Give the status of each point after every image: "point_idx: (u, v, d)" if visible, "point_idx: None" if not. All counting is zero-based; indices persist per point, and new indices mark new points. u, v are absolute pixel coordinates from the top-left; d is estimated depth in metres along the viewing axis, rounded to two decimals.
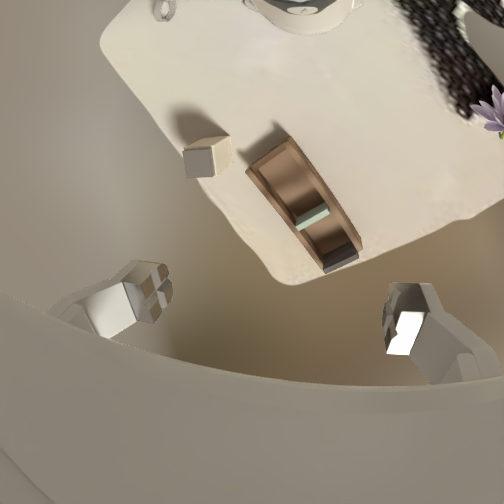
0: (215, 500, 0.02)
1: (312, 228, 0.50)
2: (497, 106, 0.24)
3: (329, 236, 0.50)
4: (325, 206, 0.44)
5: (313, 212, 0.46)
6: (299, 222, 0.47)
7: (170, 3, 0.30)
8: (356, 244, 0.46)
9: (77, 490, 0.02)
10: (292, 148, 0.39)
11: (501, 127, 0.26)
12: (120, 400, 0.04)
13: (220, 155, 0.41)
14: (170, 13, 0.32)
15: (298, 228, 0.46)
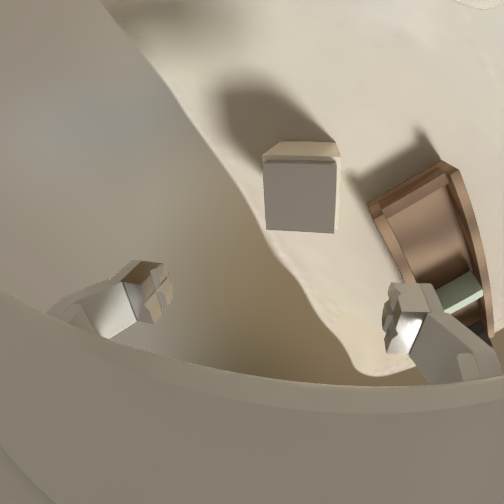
0: (215, 500, 0.02)
1: None
2: None
3: None
4: (475, 282, 0.21)
5: (457, 291, 0.22)
6: None
7: None
8: (490, 330, 0.22)
9: (77, 490, 0.02)
10: (462, 185, 0.17)
11: None
12: (120, 400, 0.04)
13: None
14: None
15: None
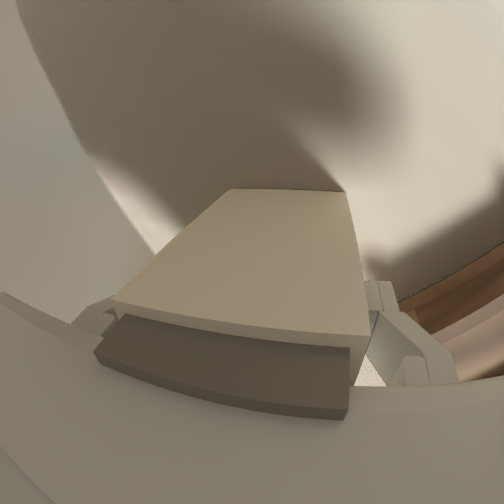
0: (215, 499, 0.02)
1: None
2: None
3: None
4: None
5: None
6: None
7: None
8: None
9: (77, 490, 0.02)
10: None
11: None
12: (120, 400, 0.04)
13: None
14: None
15: None
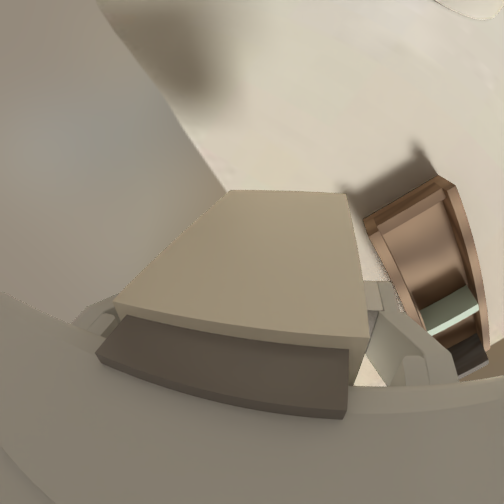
0: (216, 500, 0.02)
1: None
2: None
3: (450, 332, 0.26)
4: (471, 297, 0.21)
5: (452, 306, 0.22)
6: (429, 322, 0.23)
7: None
8: (486, 344, 0.22)
9: (77, 490, 0.02)
10: (459, 200, 0.17)
11: None
12: (120, 400, 0.04)
13: None
14: None
15: (430, 333, 0.23)
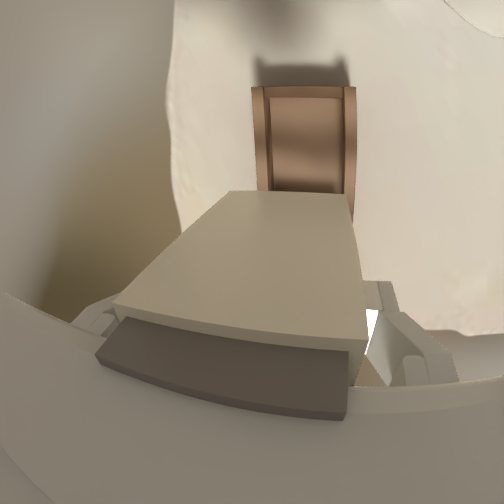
0: (215, 500, 0.02)
1: None
2: None
3: None
4: None
5: None
6: None
7: None
8: None
9: (78, 490, 0.02)
10: (353, 101, 0.19)
11: None
12: (120, 400, 0.04)
13: None
14: None
15: None
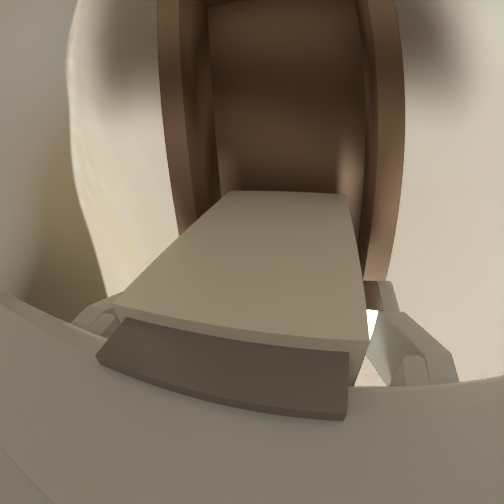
0: (215, 500, 0.02)
1: None
2: None
3: None
4: None
5: None
6: None
7: None
8: None
9: (77, 490, 0.02)
10: None
11: None
12: (120, 400, 0.04)
13: None
14: None
15: None
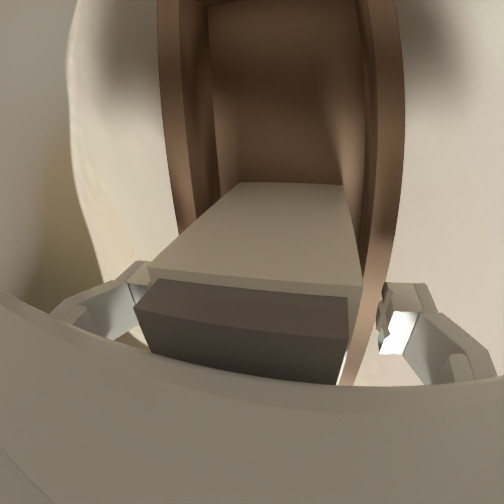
0: (215, 499, 0.02)
1: None
2: None
3: None
4: None
5: None
6: None
7: None
8: (343, 385, 0.14)
9: (77, 490, 0.02)
10: None
11: None
12: (120, 400, 0.04)
13: None
14: None
15: None
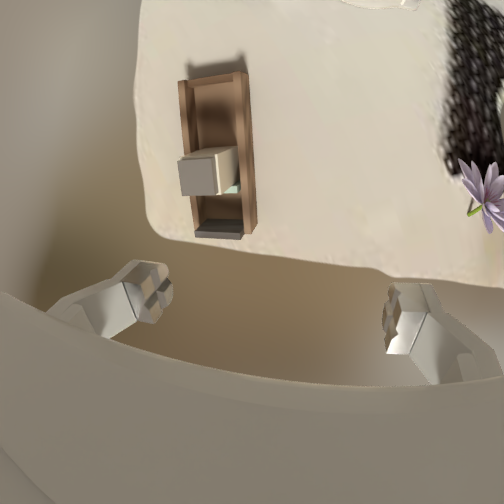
0: (215, 499, 0.02)
1: None
2: (487, 179, 0.26)
3: (223, 201, 0.41)
4: (237, 183, 0.37)
5: None
6: None
7: None
8: (246, 224, 0.39)
9: (77, 490, 0.02)
10: (239, 80, 0.29)
11: (478, 200, 0.27)
12: (120, 400, 0.04)
13: (225, 168, 0.33)
14: None
15: None
